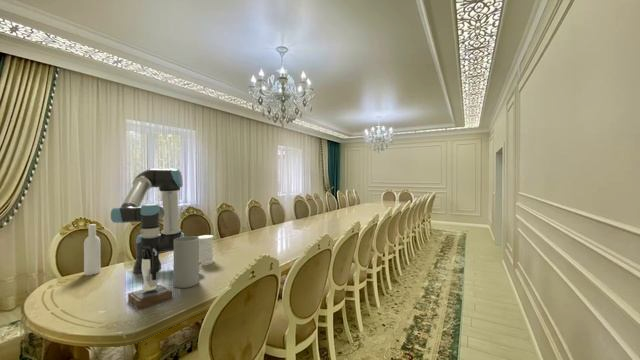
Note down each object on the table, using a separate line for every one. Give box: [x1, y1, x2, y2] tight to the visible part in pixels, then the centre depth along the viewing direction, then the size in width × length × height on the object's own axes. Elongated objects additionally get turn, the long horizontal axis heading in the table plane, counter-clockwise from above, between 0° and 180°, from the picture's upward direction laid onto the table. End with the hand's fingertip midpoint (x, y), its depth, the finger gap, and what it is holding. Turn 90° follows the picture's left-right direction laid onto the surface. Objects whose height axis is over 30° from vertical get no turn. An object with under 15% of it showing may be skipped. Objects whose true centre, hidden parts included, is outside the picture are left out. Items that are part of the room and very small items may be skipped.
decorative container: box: [197, 234, 215, 266], centre depth 186 cm, size 12×12×18 cm
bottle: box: [83, 223, 102, 276], centre depth 166 cm, size 8×8×30 cm
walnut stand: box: [127, 284, 173, 311], centre depth 129 cm, size 14×14×4 cm
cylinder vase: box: [173, 235, 200, 289], centre depth 149 cm, size 12×12×25 cm
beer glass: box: [141, 257, 159, 291], centre depth 129 cm, size 7×7×15 cm
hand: (150, 284), depth 129 cm, fingers closed on beer glass, 6 cm apart
